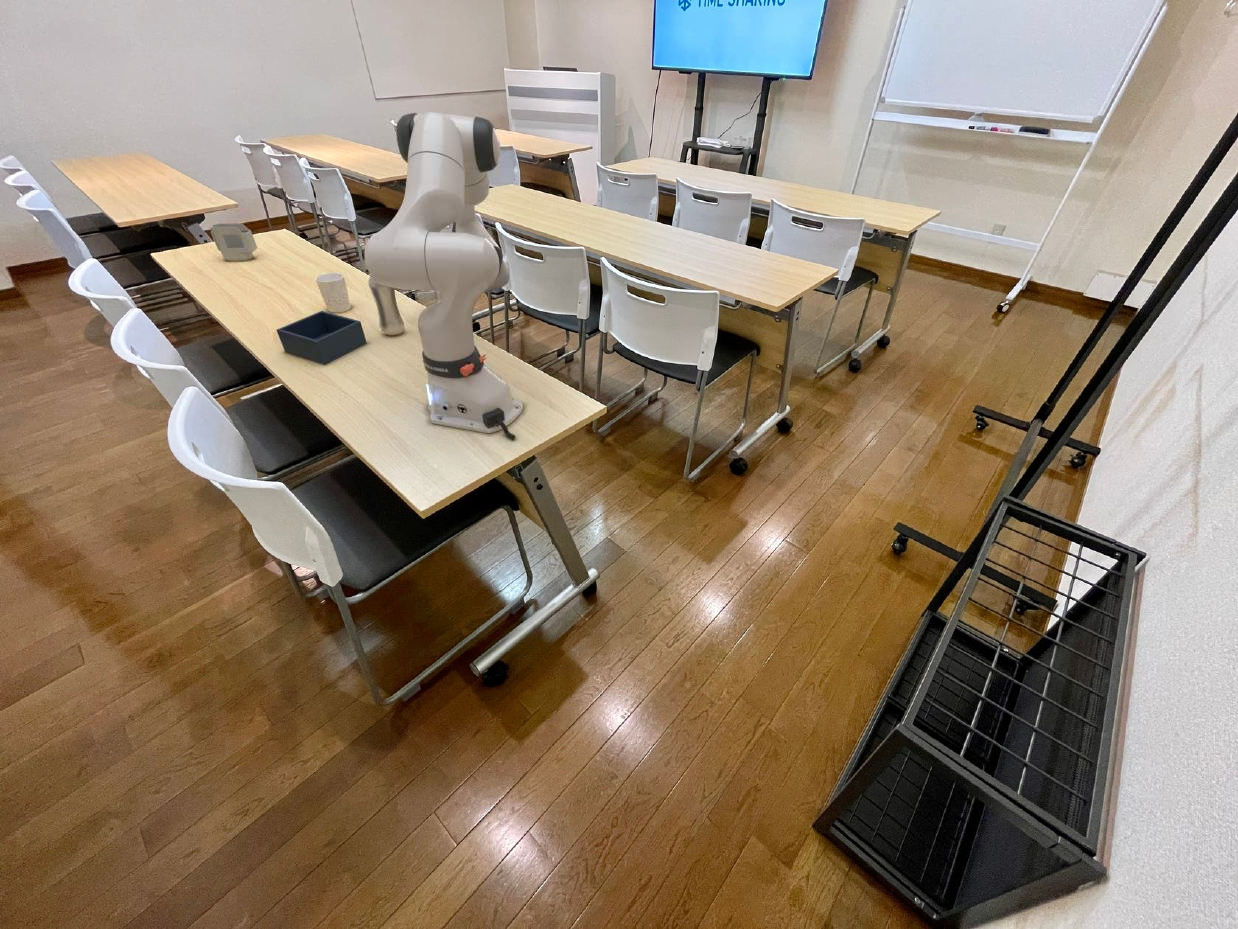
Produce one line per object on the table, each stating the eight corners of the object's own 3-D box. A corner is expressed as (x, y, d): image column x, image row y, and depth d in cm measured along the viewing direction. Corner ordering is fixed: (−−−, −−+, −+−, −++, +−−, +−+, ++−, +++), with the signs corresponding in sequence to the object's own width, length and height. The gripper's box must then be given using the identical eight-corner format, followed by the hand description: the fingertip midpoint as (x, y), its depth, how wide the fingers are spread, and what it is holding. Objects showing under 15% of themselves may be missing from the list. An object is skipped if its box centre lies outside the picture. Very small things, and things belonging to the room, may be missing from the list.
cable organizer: (256, 261, 194) (243, 227, 186) (219, 262, 192) (204, 227, 184) (262, 255, 199) (249, 222, 192) (226, 256, 197) (211, 222, 189)
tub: (367, 343, 147) (360, 321, 142) (324, 364, 136) (316, 341, 132) (329, 332, 151) (321, 310, 147) (285, 352, 141) (275, 329, 136)
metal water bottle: (398, 338, 149) (381, 268, 137) (377, 336, 150) (358, 266, 138) (410, 329, 154) (394, 261, 142) (389, 326, 155) (371, 258, 143)
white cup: (346, 301, 168) (337, 270, 162) (357, 309, 164) (348, 277, 158) (321, 307, 164) (311, 276, 158) (331, 315, 160) (321, 283, 153)
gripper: (441, 261, 160) (396, 269, 153) (470, 282, 148) (422, 291, 141) (445, 282, 164) (401, 290, 157) (473, 303, 152) (427, 313, 145)
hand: (411, 291), depth 149 cm, fingers open, 8 cm apart
